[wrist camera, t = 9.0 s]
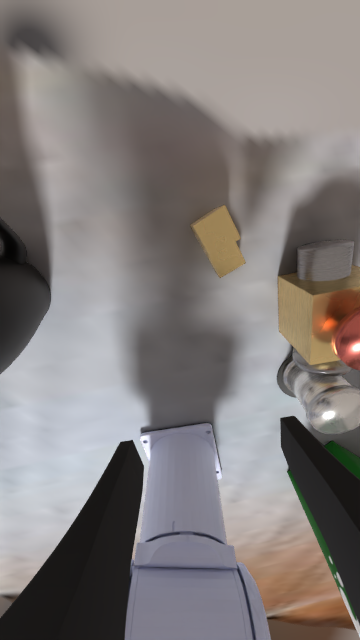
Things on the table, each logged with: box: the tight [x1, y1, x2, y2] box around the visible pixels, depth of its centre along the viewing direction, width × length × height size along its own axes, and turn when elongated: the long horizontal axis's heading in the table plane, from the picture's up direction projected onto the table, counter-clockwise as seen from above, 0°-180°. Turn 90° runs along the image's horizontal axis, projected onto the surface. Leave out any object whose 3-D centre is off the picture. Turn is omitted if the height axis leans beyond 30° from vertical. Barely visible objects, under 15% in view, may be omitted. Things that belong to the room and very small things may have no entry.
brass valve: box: [278, 240, 360, 377], centre depth 15 cm, size 9×5×7 cm, turn 12°
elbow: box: [190, 205, 246, 278], centre depth 15 cm, size 4×2×4 cm, turn 32°
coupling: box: [282, 358, 360, 434], centre depth 19 cm, size 4×4×5 cm
